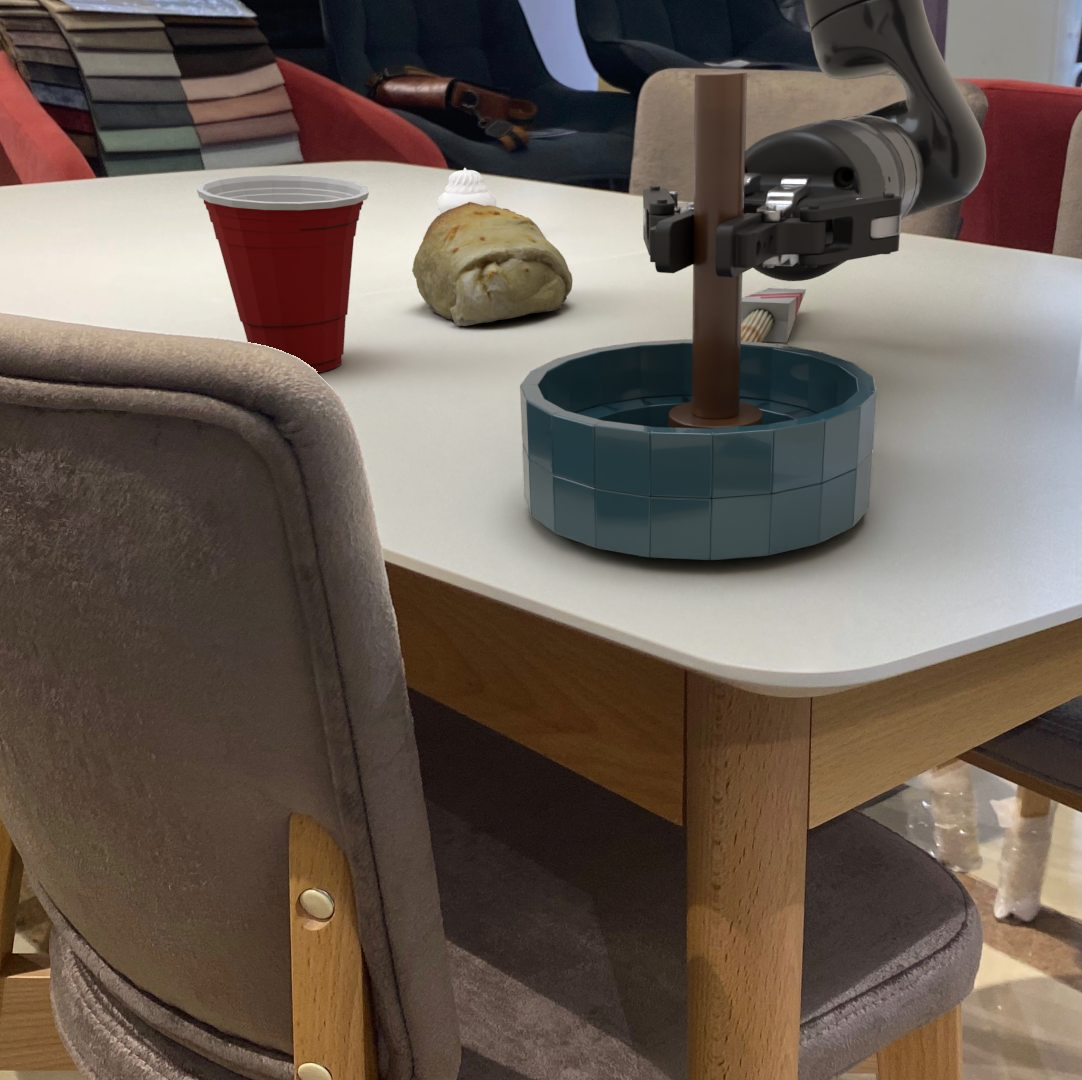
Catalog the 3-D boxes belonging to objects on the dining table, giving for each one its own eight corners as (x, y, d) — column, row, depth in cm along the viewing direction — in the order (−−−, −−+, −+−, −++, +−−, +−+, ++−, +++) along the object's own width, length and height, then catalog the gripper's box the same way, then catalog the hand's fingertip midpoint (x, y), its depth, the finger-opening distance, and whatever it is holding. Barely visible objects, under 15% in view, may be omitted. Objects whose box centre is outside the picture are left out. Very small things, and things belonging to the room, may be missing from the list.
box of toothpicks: (814, 270, 96) (755, 346, 79) (813, 306, 97) (754, 389, 80) (762, 267, 97) (693, 342, 80) (761, 304, 98) (693, 384, 81)
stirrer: (775, 425, 62) (787, 69, 56) (742, 452, 58) (752, 75, 52) (689, 415, 64) (692, 70, 58) (653, 440, 60) (652, 76, 54)
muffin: (510, 237, 134) (507, 166, 131) (461, 244, 130) (457, 172, 128) (475, 230, 138) (471, 162, 136) (427, 238, 135) (422, 168, 132)
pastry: (459, 287, 110) (454, 190, 107) (598, 294, 106) (596, 193, 103) (378, 323, 98) (370, 215, 95) (530, 333, 94) (526, 220, 91)
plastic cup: (325, 393, 80) (305, 195, 76) (185, 379, 85) (159, 190, 80) (412, 352, 89) (400, 173, 85) (283, 341, 94) (264, 169, 89)
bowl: (905, 476, 63) (914, 356, 61) (804, 599, 51) (811, 453, 48) (615, 438, 70) (613, 329, 68) (463, 537, 58) (455, 407, 55)
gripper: (697, 122, 71) (546, 156, 57) (956, 123, 65) (858, 163, 51) (695, 259, 74) (552, 325, 60) (943, 274, 68) (848, 351, 54)
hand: (693, 250), depth 55 cm, fingers closed on stirrer, 2 cm apart
